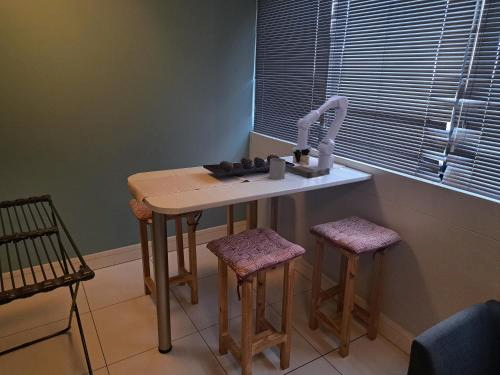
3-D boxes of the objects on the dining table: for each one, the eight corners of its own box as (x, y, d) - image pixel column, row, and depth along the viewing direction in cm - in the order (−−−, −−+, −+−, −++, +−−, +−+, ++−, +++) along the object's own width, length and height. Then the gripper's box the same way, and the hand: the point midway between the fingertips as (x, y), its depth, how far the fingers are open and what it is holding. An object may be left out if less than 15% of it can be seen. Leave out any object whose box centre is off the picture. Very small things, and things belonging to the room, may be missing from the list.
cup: (284, 179, 186) (286, 161, 182) (269, 179, 186) (270, 161, 183) (283, 175, 194) (284, 158, 190) (269, 175, 194) (270, 157, 191)
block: (297, 161, 210) (298, 153, 209) (308, 164, 204) (309, 156, 202) (292, 162, 208) (293, 154, 206) (303, 165, 201) (304, 157, 199)
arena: (300, 166, 215) (300, 160, 214) (329, 175, 198) (329, 168, 197) (280, 170, 205) (280, 163, 204) (309, 179, 188) (309, 172, 187)
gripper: (305, 137, 208) (304, 159, 212) (288, 139, 200) (287, 162, 204) (314, 139, 203) (312, 161, 207) (297, 141, 194) (295, 164, 199)
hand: (300, 161), depth 205 cm, fingers closed on block, 4 cm apart
